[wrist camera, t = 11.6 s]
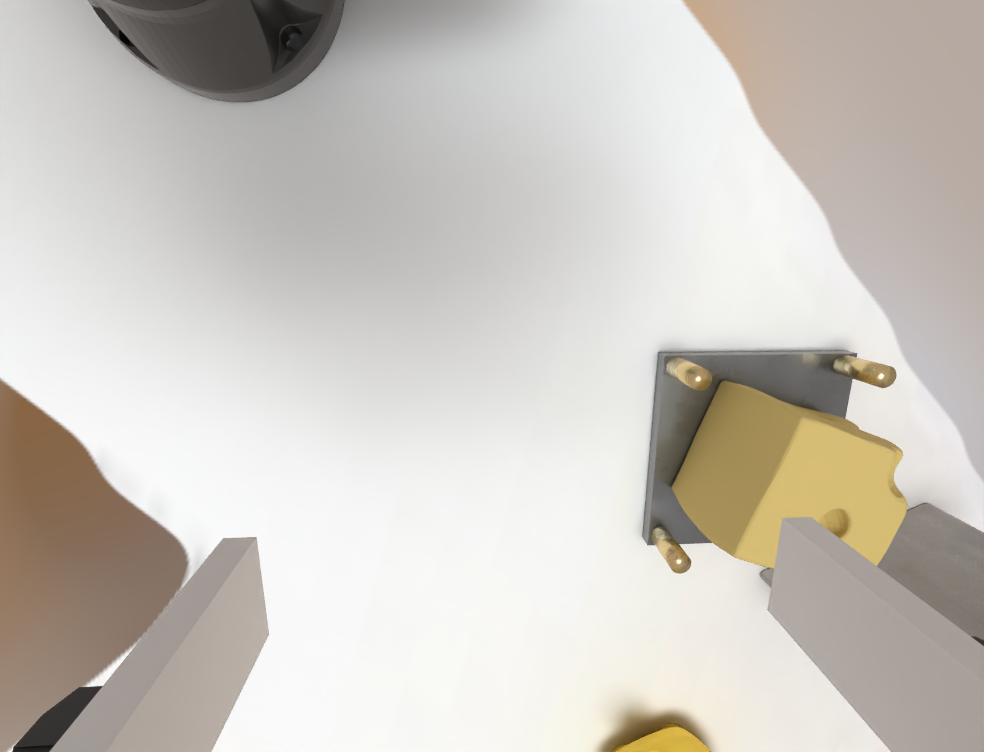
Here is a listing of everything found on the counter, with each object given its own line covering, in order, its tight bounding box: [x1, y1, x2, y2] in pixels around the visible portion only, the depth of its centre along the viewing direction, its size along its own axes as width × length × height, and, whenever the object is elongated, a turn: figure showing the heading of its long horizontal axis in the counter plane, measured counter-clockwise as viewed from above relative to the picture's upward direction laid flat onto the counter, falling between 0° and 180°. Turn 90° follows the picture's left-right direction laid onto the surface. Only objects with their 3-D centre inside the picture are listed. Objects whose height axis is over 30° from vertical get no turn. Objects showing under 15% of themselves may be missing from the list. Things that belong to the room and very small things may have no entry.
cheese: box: [672, 381, 907, 568], centre depth 36 cm, size 10×11×10 cm
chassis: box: [643, 351, 896, 573], centre depth 39 cm, size 16×16×5 cm
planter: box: [760, 503, 984, 640], centre depth 36 cm, size 16×8×19 cm, turn 114°
